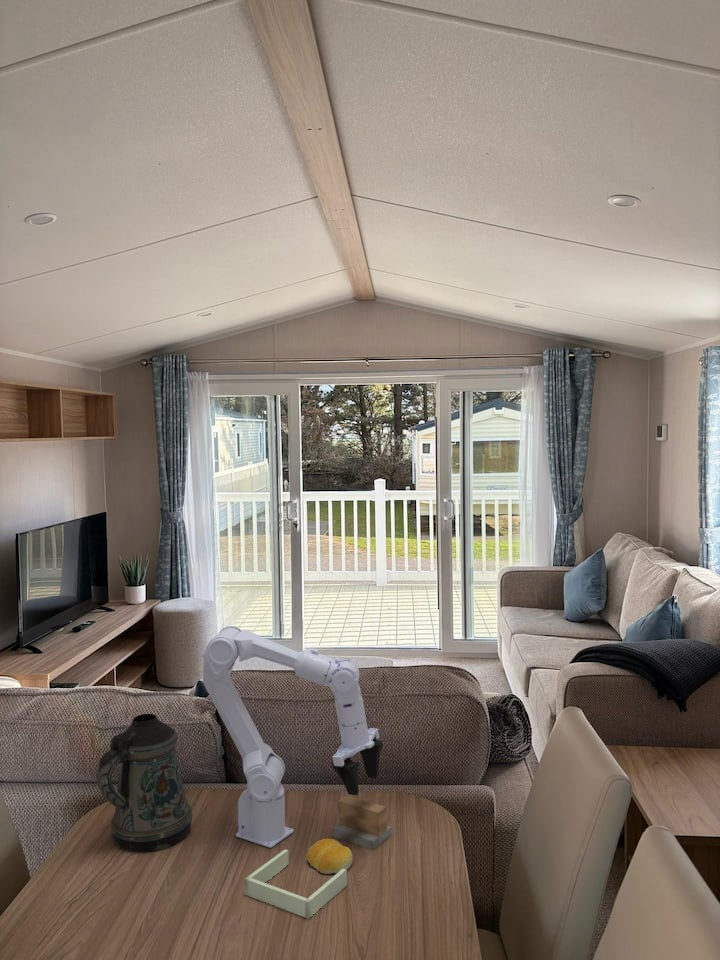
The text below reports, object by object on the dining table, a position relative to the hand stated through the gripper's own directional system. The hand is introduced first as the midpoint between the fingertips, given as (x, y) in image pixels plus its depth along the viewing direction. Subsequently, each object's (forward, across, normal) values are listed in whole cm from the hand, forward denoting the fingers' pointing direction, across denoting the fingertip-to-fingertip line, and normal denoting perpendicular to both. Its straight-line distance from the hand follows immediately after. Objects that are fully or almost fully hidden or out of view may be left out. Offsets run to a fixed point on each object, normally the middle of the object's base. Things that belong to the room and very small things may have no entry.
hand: (363, 785), depth 165 cm
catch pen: (+9, -23, +2) cm, 25 cm away
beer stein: (+4, -23, +40) cm, 46 cm away
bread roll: (+10, -12, +2) cm, 16 cm away
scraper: (+11, 0, +2) cm, 11 cm away
